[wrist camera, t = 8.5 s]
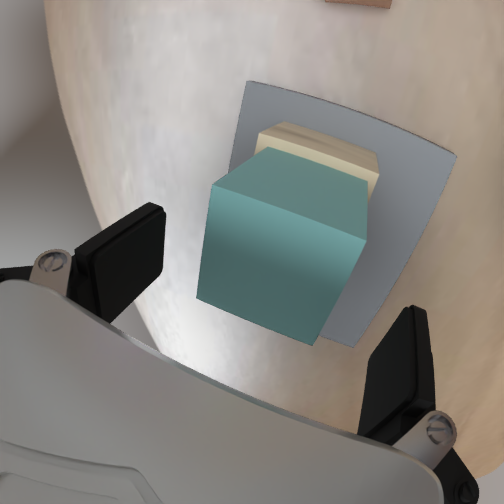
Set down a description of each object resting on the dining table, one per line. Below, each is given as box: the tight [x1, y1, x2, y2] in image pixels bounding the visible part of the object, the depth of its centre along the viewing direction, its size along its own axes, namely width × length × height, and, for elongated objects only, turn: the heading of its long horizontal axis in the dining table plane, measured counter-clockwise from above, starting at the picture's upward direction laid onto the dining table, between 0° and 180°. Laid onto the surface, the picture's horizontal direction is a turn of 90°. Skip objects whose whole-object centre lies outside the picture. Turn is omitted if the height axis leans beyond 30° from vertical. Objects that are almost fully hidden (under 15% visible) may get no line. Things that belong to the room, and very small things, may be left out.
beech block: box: [254, 121, 379, 202], centre depth 17 cm, size 6×6×5 cm
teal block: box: [196, 147, 368, 346], centre depth 13 cm, size 5×5×6 cm
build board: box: [228, 81, 457, 348], centre depth 22 cm, size 18×14×1 cm
